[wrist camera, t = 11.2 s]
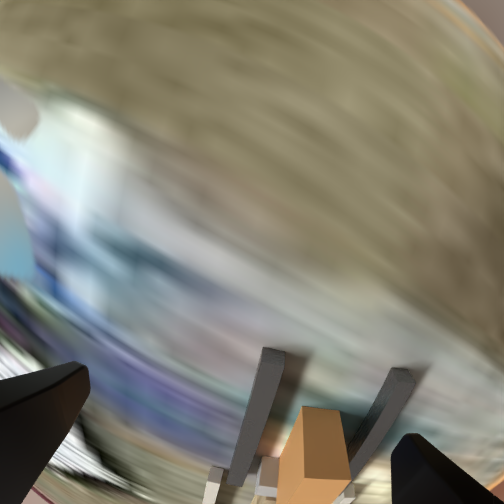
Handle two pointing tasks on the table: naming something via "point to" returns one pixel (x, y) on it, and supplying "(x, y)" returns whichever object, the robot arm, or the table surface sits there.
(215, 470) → the tray
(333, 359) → the table surface
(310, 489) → the tan rectangular block
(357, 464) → the slot rails
